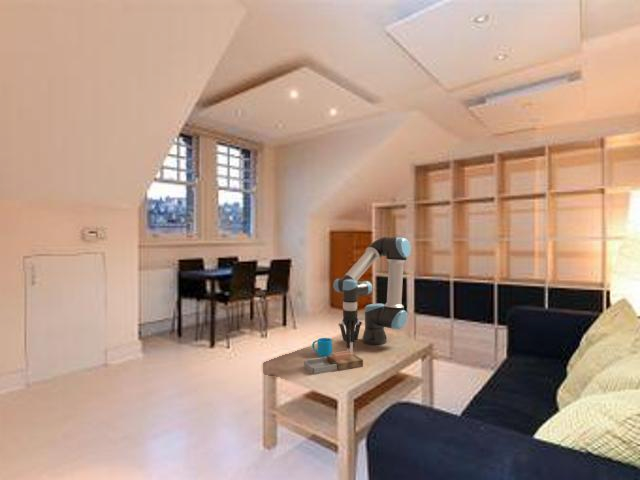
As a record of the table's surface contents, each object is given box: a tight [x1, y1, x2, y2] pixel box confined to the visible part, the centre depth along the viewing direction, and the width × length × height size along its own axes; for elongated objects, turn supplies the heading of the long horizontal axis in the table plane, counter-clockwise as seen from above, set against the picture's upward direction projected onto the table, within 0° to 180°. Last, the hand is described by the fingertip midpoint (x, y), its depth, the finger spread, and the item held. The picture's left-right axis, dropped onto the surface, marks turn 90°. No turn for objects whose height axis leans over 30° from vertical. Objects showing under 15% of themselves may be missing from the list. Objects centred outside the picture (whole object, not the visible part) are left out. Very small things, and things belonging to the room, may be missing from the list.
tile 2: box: [339, 350, 351, 359], centre depth 206 cm, size 4×4×2 cm
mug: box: [311, 337, 333, 358], centre depth 222 cm, size 12×8×8 cm
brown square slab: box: [327, 353, 364, 372], centre depth 206 cm, size 14×14×4 cm
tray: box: [303, 357, 338, 375], centre depth 200 cm, size 13×12×3 cm
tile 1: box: [332, 351, 344, 361], centre depth 204 cm, size 4×4×2 cm
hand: (350, 354), depth 207 cm, fingers closed
